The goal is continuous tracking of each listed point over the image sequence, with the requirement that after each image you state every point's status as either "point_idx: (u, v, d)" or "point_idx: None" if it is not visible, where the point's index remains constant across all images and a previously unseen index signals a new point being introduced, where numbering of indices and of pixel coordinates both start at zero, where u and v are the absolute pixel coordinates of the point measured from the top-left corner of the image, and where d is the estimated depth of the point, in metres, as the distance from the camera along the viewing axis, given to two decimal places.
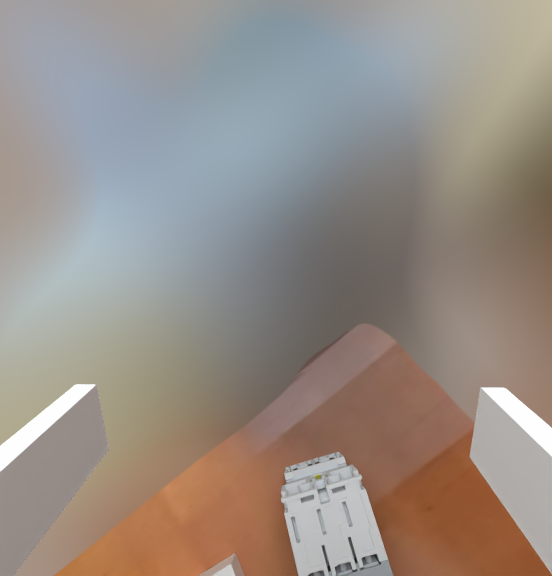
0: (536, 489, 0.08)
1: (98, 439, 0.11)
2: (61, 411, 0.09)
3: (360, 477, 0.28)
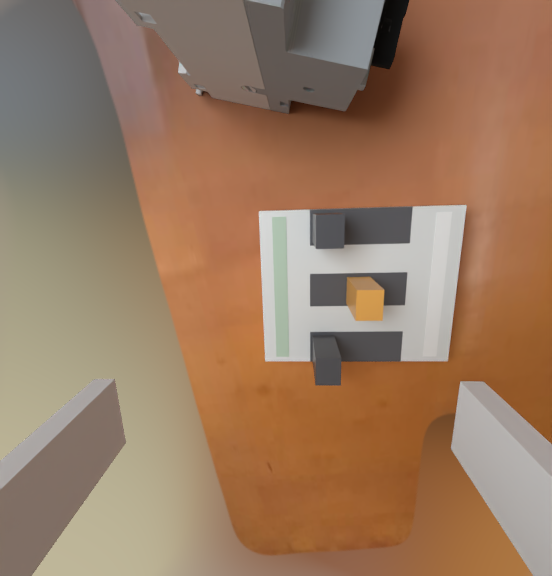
0: (507, 476, 0.08)
1: (116, 432, 0.11)
2: (83, 404, 0.10)
3: None
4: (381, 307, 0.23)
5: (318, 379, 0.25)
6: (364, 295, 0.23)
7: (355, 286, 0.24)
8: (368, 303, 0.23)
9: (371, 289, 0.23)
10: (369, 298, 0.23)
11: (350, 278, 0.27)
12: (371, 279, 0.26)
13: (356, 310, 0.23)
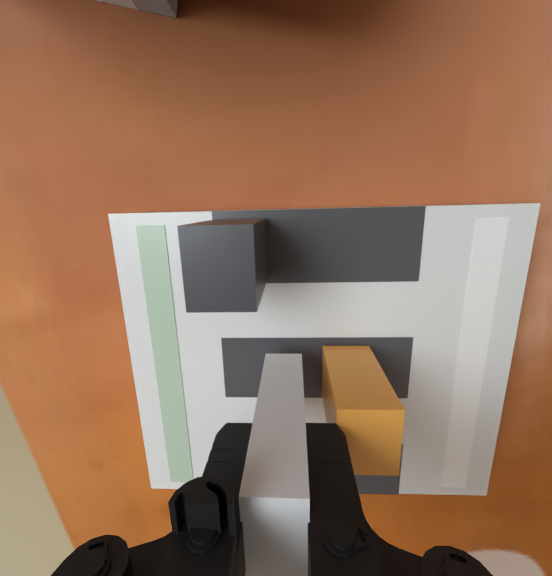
0: None
1: None
2: (278, 372, 0.11)
3: None
4: (396, 448, 0.10)
5: None
6: (355, 421, 0.09)
7: (335, 388, 0.10)
8: (366, 437, 0.10)
9: (372, 408, 0.09)
10: (368, 428, 0.09)
11: (328, 351, 0.13)
12: (371, 357, 0.12)
13: None
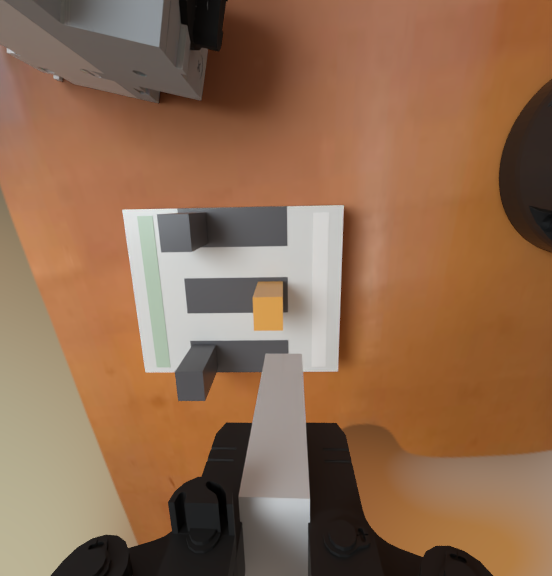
0: None
1: None
2: (278, 372, 0.11)
3: None
4: (280, 316, 0.21)
5: (180, 394, 0.23)
6: (261, 303, 0.21)
7: (255, 292, 0.22)
8: (266, 311, 0.21)
9: (268, 296, 0.21)
10: (267, 306, 0.21)
11: (260, 283, 0.24)
12: (280, 284, 0.24)
13: (254, 319, 0.21)
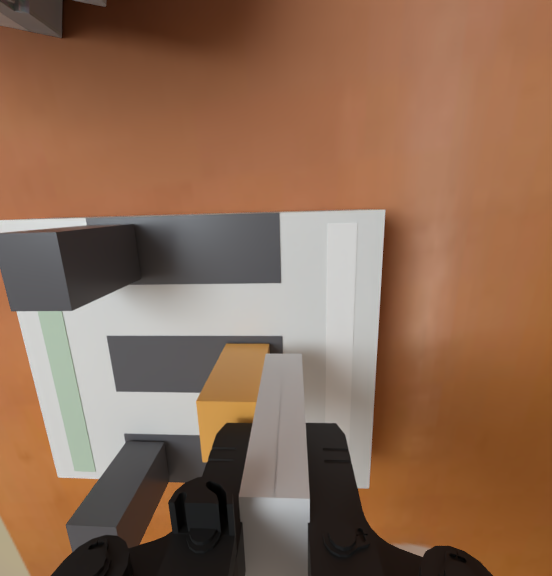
0: None
1: None
2: (278, 372, 0.11)
3: None
4: None
5: None
6: (214, 412, 0.10)
7: (209, 382, 0.11)
8: None
9: (229, 400, 0.10)
10: (226, 419, 0.10)
11: (228, 348, 0.14)
12: (263, 354, 0.13)
13: (202, 441, 0.11)
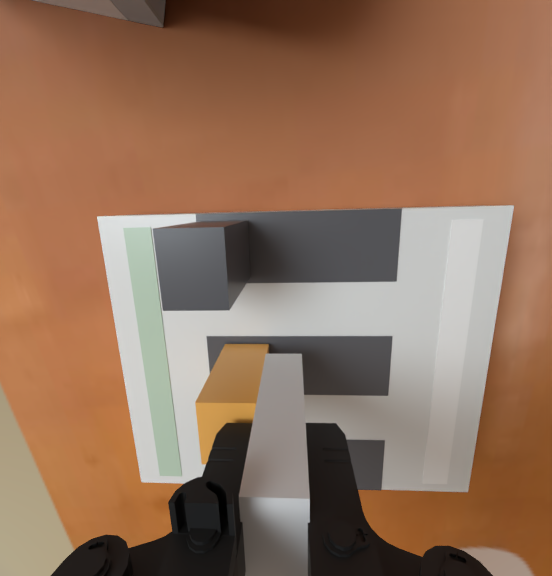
0: None
1: None
2: (278, 372, 0.11)
3: None
4: None
5: None
6: (213, 413, 0.10)
7: (208, 383, 0.11)
8: None
9: (228, 401, 0.10)
10: (226, 420, 0.10)
11: (227, 349, 0.14)
12: (263, 354, 0.13)
13: (201, 442, 0.10)
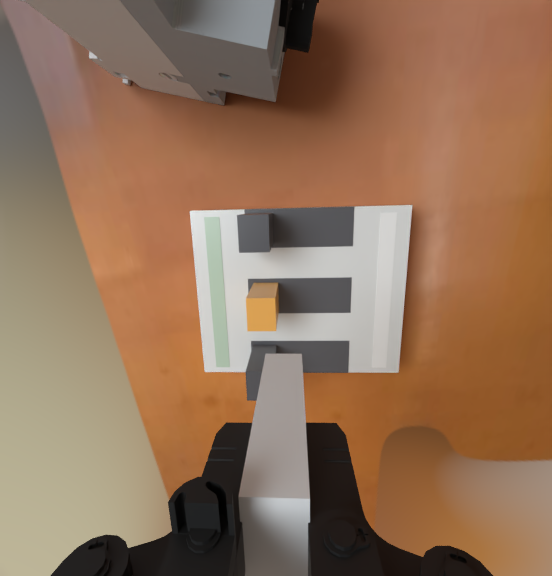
0: None
1: None
2: (278, 372, 0.11)
3: None
4: (273, 317, 0.21)
5: (250, 394, 0.23)
6: (254, 303, 0.21)
7: (249, 293, 0.22)
8: (259, 312, 0.21)
9: (261, 297, 0.21)
10: (260, 307, 0.21)
11: (255, 284, 0.25)
12: (275, 285, 0.24)
13: (247, 320, 0.22)
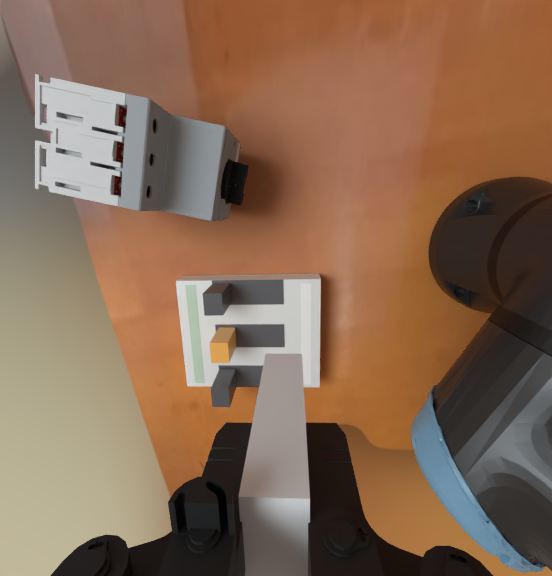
0: None
1: None
2: (278, 372, 0.11)
3: (37, 76, 0.21)
4: (227, 354, 0.34)
5: (214, 402, 0.35)
6: (215, 346, 0.33)
7: (213, 338, 0.35)
8: (218, 351, 0.34)
9: (219, 342, 0.33)
10: (218, 348, 0.34)
11: (219, 329, 0.37)
12: (232, 330, 0.37)
13: (211, 356, 0.34)
